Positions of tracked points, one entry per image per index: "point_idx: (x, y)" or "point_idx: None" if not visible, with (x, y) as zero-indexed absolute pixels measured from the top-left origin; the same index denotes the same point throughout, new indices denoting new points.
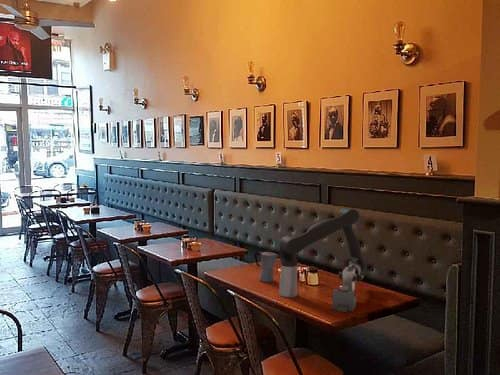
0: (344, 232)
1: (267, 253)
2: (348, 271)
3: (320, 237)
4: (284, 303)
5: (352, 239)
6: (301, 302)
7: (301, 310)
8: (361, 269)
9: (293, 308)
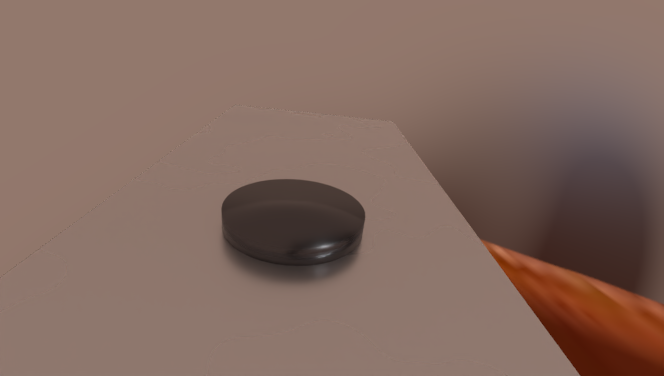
0: None
1: None
2: (299, 115)
3: None
4: (642, 308)
5: None
6: (602, 353)
7: (487, 249)
8: None
9: (535, 261)
